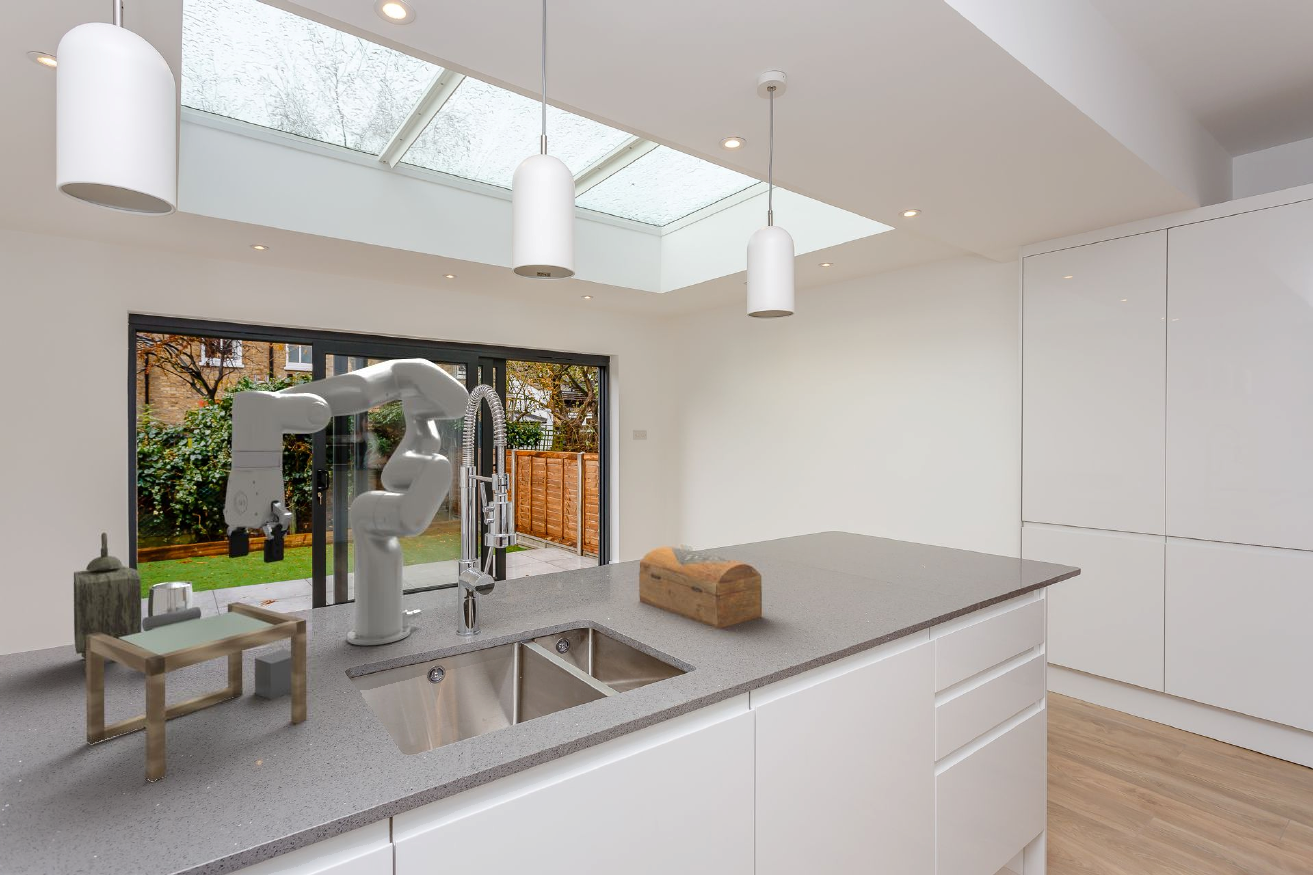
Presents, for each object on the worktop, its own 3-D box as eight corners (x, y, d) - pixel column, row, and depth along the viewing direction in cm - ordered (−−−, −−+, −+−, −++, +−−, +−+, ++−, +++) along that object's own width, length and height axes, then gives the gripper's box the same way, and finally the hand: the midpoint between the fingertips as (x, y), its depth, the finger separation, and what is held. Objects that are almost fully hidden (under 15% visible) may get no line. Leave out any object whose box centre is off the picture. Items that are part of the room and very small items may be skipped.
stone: (284, 682, 111) (284, 649, 111) (301, 688, 109) (300, 654, 109) (255, 693, 107) (254, 658, 107) (271, 699, 105) (271, 663, 105)
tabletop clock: (74, 658, 123) (73, 531, 123) (134, 647, 130) (133, 526, 129) (77, 679, 113) (76, 540, 113) (142, 665, 119) (141, 534, 119)
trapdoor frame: (237, 692, 107) (237, 601, 107) (306, 719, 97) (306, 619, 97) (86, 743, 90) (85, 634, 90) (151, 782, 80) (150, 660, 80)
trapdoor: (222, 614, 105) (222, 599, 105) (280, 633, 96) (280, 617, 96) (108, 640, 92) (108, 623, 92) (164, 664, 83) (164, 647, 83)
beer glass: (140, 671, 117) (140, 590, 116) (159, 658, 123) (158, 581, 123) (184, 667, 118) (183, 588, 118) (200, 654, 125) (199, 579, 125)
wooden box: (766, 617, 152) (766, 559, 152) (715, 630, 142) (715, 568, 141) (686, 591, 175) (686, 542, 175) (638, 601, 165) (638, 548, 165)
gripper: (205, 461, 111) (203, 558, 110) (267, 463, 103) (266, 567, 103) (248, 460, 117) (246, 551, 117) (310, 462, 110) (308, 559, 110)
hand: (255, 559), depth 110 cm, fingers open, 9 cm apart
